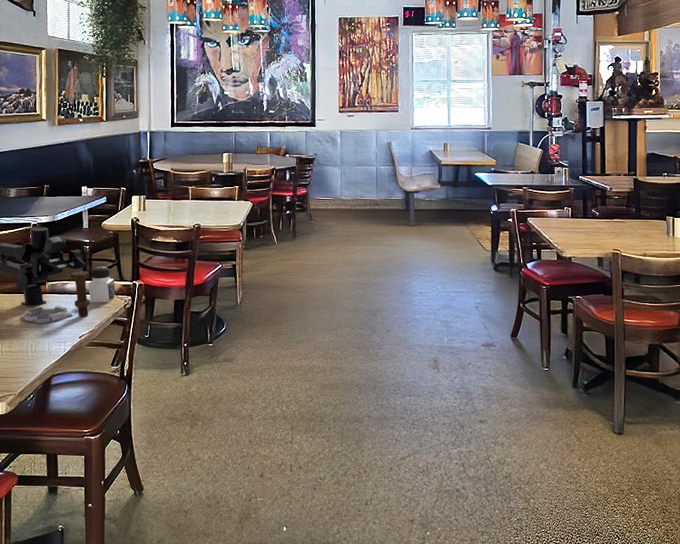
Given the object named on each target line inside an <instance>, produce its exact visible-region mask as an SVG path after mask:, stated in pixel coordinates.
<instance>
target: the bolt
mask: <svg viewBox="0 0 680 544" xmlns="http://www.w3.org/2000/svg"><path fill="white" fill-rule="evenodd" d="M87 278H90V273H89V272H88V271H82V270H81V271H74V272H72V273H71V274H70V279H73V280H74V282H75V288H76V289H75V290H76V300H75V302H74V307H76V308H77V309H78V310H77V311H78V317H81V318H83V317H84V318H85V317H88V316H89V306H90V305H91V302H90V299H88V297H87V284H86V283H87V281H86V279H87Z"/></svg>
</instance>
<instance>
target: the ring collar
mask: <svg viewBox="0 0 680 544" xmlns="http://www.w3.org/2000/svg"><path fill="white" fill-rule="evenodd" d="M70 316H71V317H73V314H72V313H69V312H68V308H67V307H64V306H60V305H57V306H54V307H52V308H51V307H49V308H48V307H47V308H43V306H39V307H34V308H30V309H27V312H26V313H25V314H24V315H23V316H20V317H19V320H21V319H22V321H25V322H30V323H32V324H38V325H40V324H41V325H42V324H43V325H45V324H49V323H52V322H57V321H59V319H60V320H63V319H62V318H64V319H67V318H71V317H70ZM56 320H57V321H56ZM41 325H40V326H41ZM43 325H42V326H43Z"/></svg>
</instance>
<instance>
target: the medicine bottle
mask: <svg viewBox="0 0 680 544" xmlns="http://www.w3.org/2000/svg"><path fill="white" fill-rule="evenodd" d="M91 276H92V279H91V280H92V281H90V282H89V283H88V288H89V289H88V290H89V300H90V303H110V302H111V301H112V300H114V299H113V298H114V297H115V298H116V293H115V292H116V291H115V280H114V278H111V277H110V276H111V275H110V269H109V268H108V267H107V266H97V267H93V268H92V270H91Z"/></svg>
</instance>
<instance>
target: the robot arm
mask: <svg viewBox="0 0 680 544" xmlns="http://www.w3.org/2000/svg"><path fill="white" fill-rule="evenodd" d="M29 231H30V242H28V243H24V244H22V245H18V244H14V243H13V244H12V243H7V242H3V241H1V242H0V273H1V274H5V275H9V276H12V277H15V278H18V279H17V281H16V285H17V288H18V289H19V290H23V298H24V299H23V300H24V301H22V302H21V303H20V304H21V305H24V306H27V307H35V306H38V305H42V304H46V303H47V302H48V301H47V300H43V298H44V297H43V291H42V286H43V287H44V286H46V285H47V281H48V277H49V276H52V275H56V274H61V273H63V272H64V271H63V270H64V268H65V267H69V268H70V269H73V270H74V271H75V270H78V269H83V268H86V263H85V261H84V251H83V250H82V249H81V250H80V249H75V250H70V251H69V252H68V258H64V257H63V256H64V251H62V249H63V248H65V247H66V243H67V242H66V240H65V238H63V237H61V236H53V237H49V228H48V227H35V226H34V227H30V228H29ZM8 257H11V258H15V260H16V261H18V262H20V263H26V264H20V263H16V262H13V261H9V260H7V259H8ZM27 262H30V263H27Z"/></svg>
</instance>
